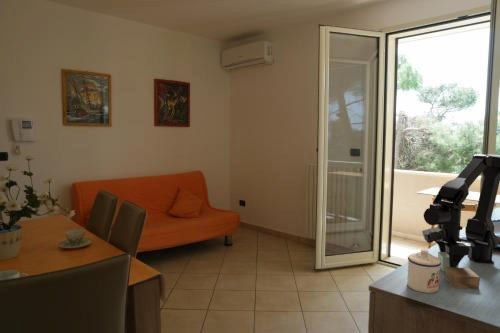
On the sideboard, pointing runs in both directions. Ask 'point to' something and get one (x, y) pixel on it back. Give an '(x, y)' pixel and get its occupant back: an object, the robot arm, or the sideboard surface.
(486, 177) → the robot arm
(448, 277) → the walnut block
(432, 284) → the teacup with lid
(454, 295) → the sideboard surface
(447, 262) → the green cube
